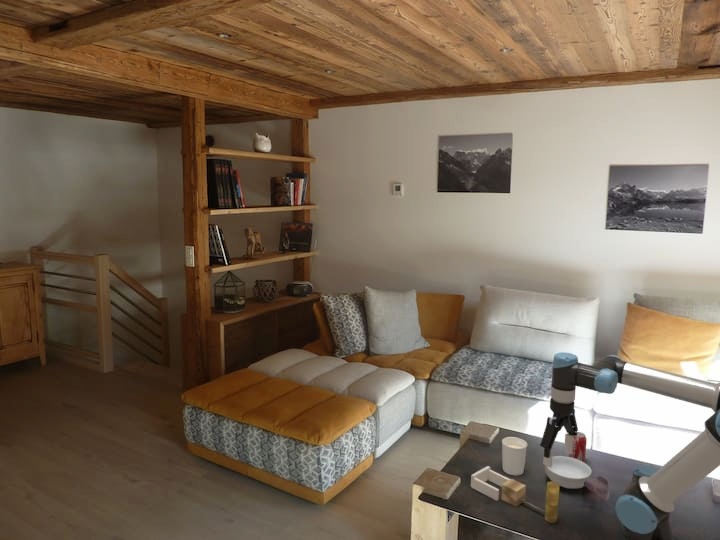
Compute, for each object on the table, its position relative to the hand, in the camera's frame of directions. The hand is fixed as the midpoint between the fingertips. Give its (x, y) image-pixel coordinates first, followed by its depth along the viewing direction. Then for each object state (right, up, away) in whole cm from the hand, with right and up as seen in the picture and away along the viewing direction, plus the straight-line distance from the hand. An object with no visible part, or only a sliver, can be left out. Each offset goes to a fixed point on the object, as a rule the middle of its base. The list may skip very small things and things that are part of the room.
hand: (558, 459), depth 182 cm
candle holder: (-5, -17, +36) cm, 40 cm away
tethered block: (-6, -21, +10) cm, 24 cm away
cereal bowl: (+13, -19, +27) cm, 36 cm away
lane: (-17, -19, +22) cm, 34 cm away
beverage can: (+24, -16, +44) cm, 53 cm away
